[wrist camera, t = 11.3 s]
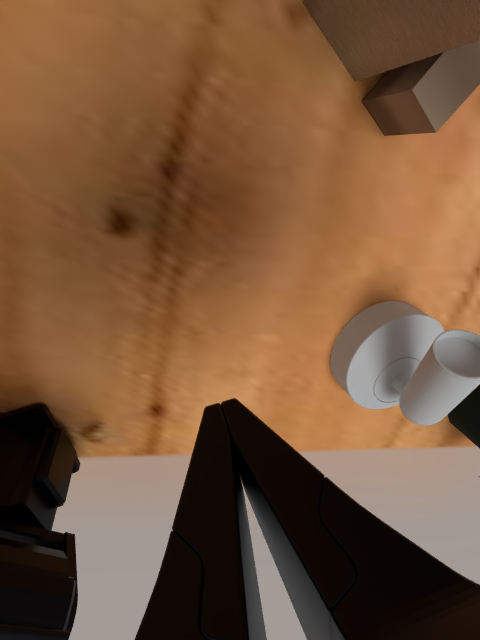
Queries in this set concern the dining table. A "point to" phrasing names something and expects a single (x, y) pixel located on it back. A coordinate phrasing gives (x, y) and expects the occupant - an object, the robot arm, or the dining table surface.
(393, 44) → the grey square pillar
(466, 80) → the bench
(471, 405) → the wine bottle
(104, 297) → the dining table surface
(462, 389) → the wall hook
